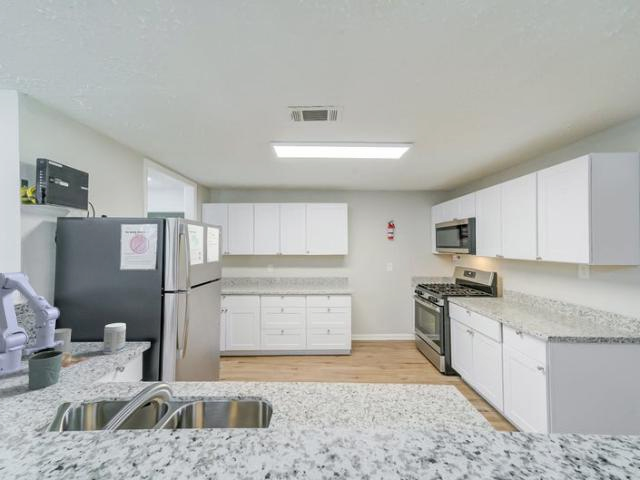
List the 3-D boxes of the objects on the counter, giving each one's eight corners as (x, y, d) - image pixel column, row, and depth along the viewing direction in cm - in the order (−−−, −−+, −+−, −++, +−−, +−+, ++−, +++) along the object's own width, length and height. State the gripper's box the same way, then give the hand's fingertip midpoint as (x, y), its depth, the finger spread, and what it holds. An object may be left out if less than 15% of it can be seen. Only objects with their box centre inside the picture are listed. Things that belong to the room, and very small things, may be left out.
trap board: (65, 367, 128) (65, 366, 128) (46, 365, 129) (46, 364, 130) (90, 358, 139) (90, 357, 140) (73, 356, 141) (73, 355, 141)
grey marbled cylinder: (57, 358, 139) (59, 333, 139) (39, 357, 139) (41, 332, 140) (74, 351, 148) (76, 328, 149) (57, 351, 148) (59, 328, 149)
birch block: (60, 366, 128) (61, 356, 129) (52, 365, 129) (53, 355, 130) (70, 362, 133) (71, 353, 133) (63, 361, 134) (63, 352, 134)
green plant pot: (58, 377, 118) (61, 348, 119) (62, 384, 112) (65, 354, 112) (24, 385, 110) (27, 354, 111) (26, 393, 104) (29, 361, 104)
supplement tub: (123, 347, 156) (125, 321, 157) (125, 352, 149) (127, 325, 150) (102, 351, 150) (104, 324, 151) (102, 356, 143) (104, 327, 144)
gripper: (33, 340, 116) (30, 373, 116) (69, 331, 131) (67, 360, 130) (20, 339, 118) (17, 371, 117) (57, 330, 132) (55, 359, 131)
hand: (42, 365), depth 123 cm, fingers closed
